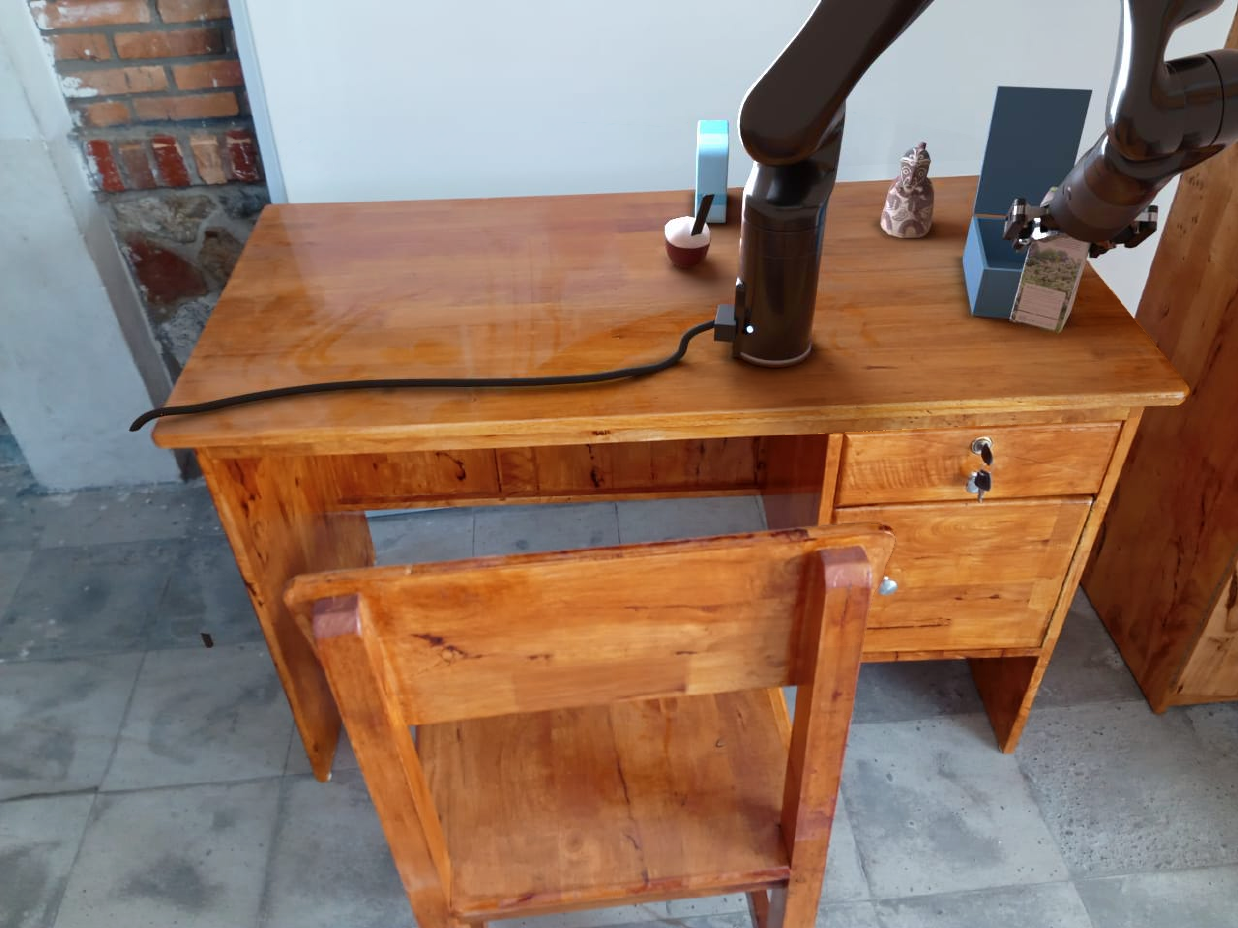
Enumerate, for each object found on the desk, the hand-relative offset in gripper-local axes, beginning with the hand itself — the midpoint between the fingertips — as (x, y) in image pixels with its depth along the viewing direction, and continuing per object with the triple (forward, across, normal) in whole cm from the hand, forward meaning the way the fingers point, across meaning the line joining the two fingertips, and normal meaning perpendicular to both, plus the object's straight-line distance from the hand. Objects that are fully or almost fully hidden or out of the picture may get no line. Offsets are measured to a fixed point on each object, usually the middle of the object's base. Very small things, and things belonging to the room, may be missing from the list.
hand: (1055, 247), depth 106 cm
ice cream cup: (+21, +43, -2) cm, 48 cm away
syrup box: (+5, 0, +7) cm, 8 cm away
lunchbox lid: (+15, 0, -18) cm, 23 cm away
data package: (+33, +42, -15) cm, 55 cm away
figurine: (+32, +13, -13) cm, 37 cm away
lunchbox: (+20, 0, -1) cm, 20 cm away
